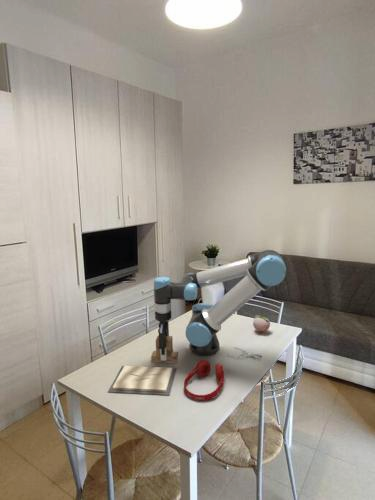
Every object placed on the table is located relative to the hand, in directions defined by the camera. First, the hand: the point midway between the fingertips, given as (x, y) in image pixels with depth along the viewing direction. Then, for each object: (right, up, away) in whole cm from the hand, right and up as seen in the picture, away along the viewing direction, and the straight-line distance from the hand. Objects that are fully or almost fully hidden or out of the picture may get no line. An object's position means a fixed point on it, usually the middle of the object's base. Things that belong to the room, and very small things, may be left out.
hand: (164, 356), depth 156 cm
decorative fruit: (+51, +5, +26) cm, 58 cm away
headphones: (+18, -6, -20) cm, 28 cm away
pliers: (+39, -1, +3) cm, 39 cm away
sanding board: (-8, -5, -16) cm, 18 cm away
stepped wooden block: (0, -1, 0) cm, 1 cm away
